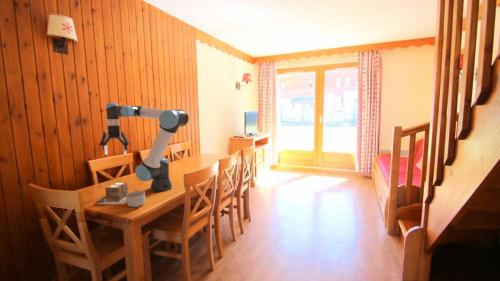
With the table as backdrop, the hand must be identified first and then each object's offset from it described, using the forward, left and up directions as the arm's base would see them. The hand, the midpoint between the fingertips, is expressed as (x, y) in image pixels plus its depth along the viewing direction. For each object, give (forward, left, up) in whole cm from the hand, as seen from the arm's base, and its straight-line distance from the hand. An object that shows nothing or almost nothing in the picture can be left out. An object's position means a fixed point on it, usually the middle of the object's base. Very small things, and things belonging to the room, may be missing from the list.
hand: (115, 154), depth 182 cm
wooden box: (-9, +17, -26) cm, 32 cm away
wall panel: (-9, +17, -27) cm, 33 cm away
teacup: (-26, +27, -27) cm, 46 cm away
